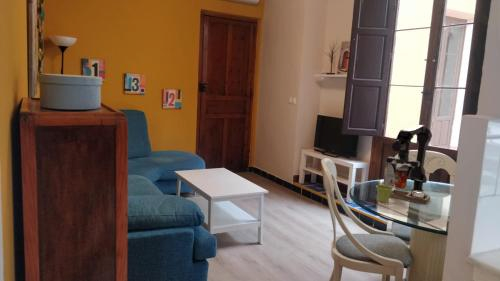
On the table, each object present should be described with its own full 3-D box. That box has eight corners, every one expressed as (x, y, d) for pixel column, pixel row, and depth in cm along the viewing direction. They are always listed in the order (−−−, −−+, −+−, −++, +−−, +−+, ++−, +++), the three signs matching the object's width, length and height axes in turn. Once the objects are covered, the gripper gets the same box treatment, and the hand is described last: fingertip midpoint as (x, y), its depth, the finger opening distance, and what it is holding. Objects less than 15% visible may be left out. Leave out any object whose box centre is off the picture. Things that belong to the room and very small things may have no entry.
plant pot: (390, 200, 239) (392, 186, 238) (392, 204, 230) (393, 189, 229) (374, 198, 242) (375, 184, 240) (374, 202, 233) (376, 187, 231)
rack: (392, 192, 256) (393, 188, 256) (429, 199, 244) (430, 195, 244) (387, 196, 247) (387, 192, 247) (425, 204, 235) (426, 199, 234)
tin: (413, 197, 247) (414, 190, 246) (424, 200, 244) (425, 192, 243) (410, 200, 242) (411, 192, 241) (422, 202, 238) (423, 194, 238)
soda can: (391, 186, 250) (393, 166, 248) (399, 185, 253) (401, 166, 251) (400, 189, 244) (402, 169, 242) (408, 188, 247) (411, 169, 245)
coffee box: (383, 181, 286) (385, 159, 284) (392, 182, 285) (395, 160, 282) (384, 184, 277) (387, 161, 275) (394, 185, 276) (397, 162, 273)
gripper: (384, 149, 244) (382, 174, 246) (417, 154, 233) (414, 180, 235) (390, 147, 253) (387, 172, 255) (421, 152, 242) (418, 177, 244)
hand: (401, 175), depth 247 cm, fingers closed on soda can, 7 cm apart
